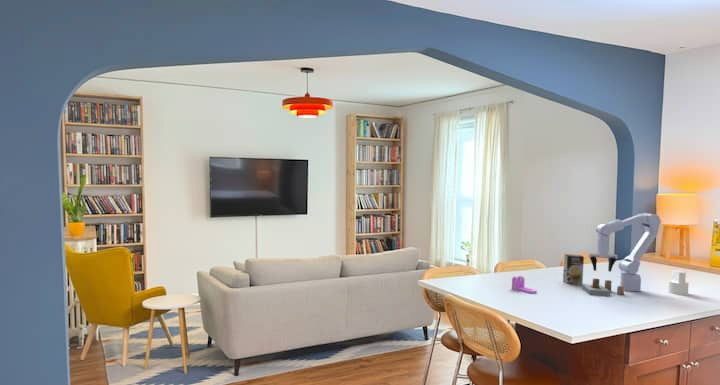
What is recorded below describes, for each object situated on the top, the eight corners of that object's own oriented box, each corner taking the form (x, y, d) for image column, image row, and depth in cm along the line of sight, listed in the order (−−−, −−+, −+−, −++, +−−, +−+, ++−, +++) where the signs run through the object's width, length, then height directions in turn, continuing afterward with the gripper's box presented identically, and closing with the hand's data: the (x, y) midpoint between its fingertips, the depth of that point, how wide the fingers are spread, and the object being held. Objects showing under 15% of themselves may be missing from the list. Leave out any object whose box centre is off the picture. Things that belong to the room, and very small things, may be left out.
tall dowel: (597, 291, 261) (598, 278, 260) (599, 293, 258) (600, 279, 257) (591, 291, 261) (592, 278, 261) (593, 292, 258) (593, 279, 258)
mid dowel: (609, 290, 265) (610, 280, 265) (611, 291, 262) (612, 281, 262) (603, 289, 266) (604, 279, 266) (605, 291, 263) (606, 281, 262)
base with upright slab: (691, 295, 257) (692, 273, 257) (672, 294, 259) (673, 272, 259) (683, 291, 266) (684, 270, 266) (665, 290, 268) (666, 269, 268)
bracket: (511, 289, 262) (512, 276, 262) (518, 288, 265) (518, 275, 265) (532, 294, 251) (532, 280, 251) (538, 293, 254) (539, 279, 254)
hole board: (601, 289, 265) (601, 285, 265) (610, 295, 252) (610, 291, 251) (581, 288, 267) (582, 284, 267) (589, 294, 253) (589, 289, 253)
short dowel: (622, 293, 258) (622, 286, 257) (624, 295, 254) (625, 287, 254) (616, 293, 258) (616, 285, 258) (618, 294, 255) (618, 287, 255)
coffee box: (566, 283, 279) (567, 255, 279) (562, 281, 286) (563, 254, 285) (582, 284, 278) (584, 256, 278) (579, 282, 285) (580, 254, 284)
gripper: (614, 246, 270) (613, 270, 271) (587, 244, 273) (586, 268, 273) (619, 247, 263) (618, 272, 264) (590, 246, 266) (589, 271, 266)
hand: (602, 270), depth 268 cm, fingers open, 7 cm apart
